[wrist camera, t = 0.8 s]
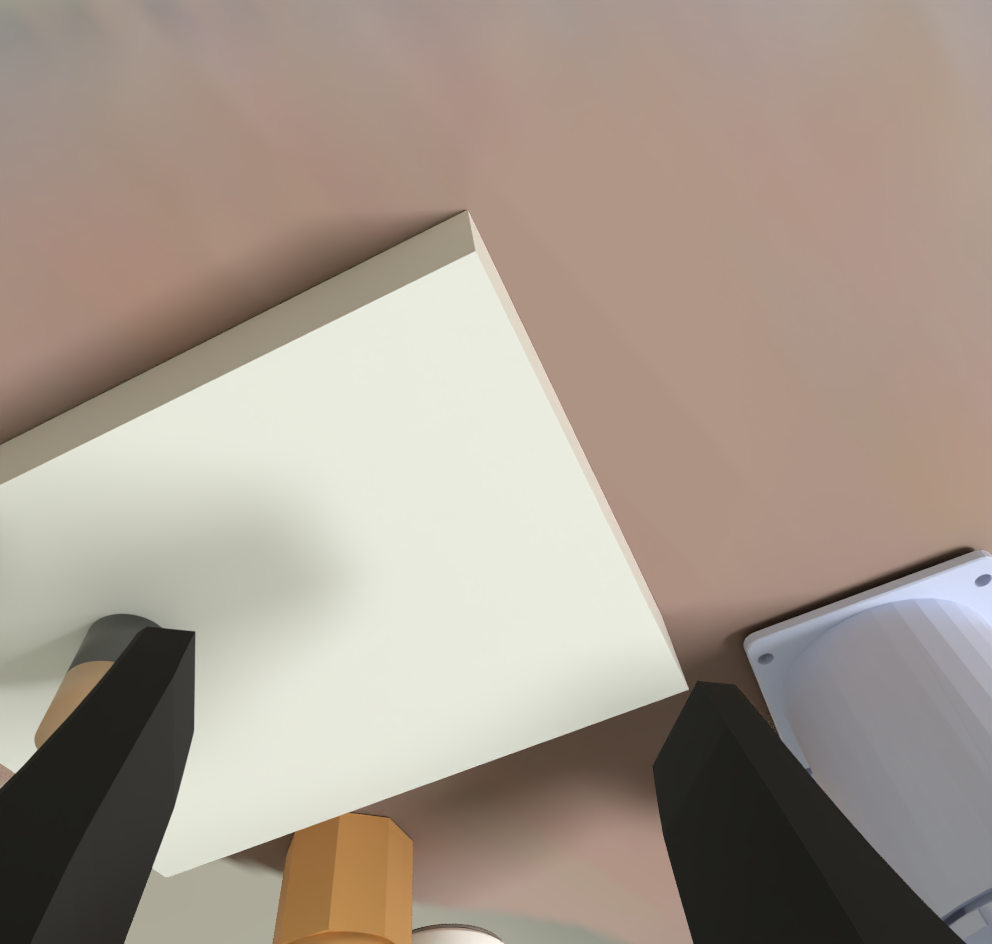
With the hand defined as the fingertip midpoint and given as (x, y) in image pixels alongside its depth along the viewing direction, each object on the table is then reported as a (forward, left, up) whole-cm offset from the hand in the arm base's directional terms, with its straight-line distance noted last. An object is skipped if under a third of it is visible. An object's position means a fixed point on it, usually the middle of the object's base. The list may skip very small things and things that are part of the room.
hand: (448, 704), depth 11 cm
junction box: (-3, +6, -10) cm, 12 cm away
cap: (-16, +12, -10) cm, 23 cm away
